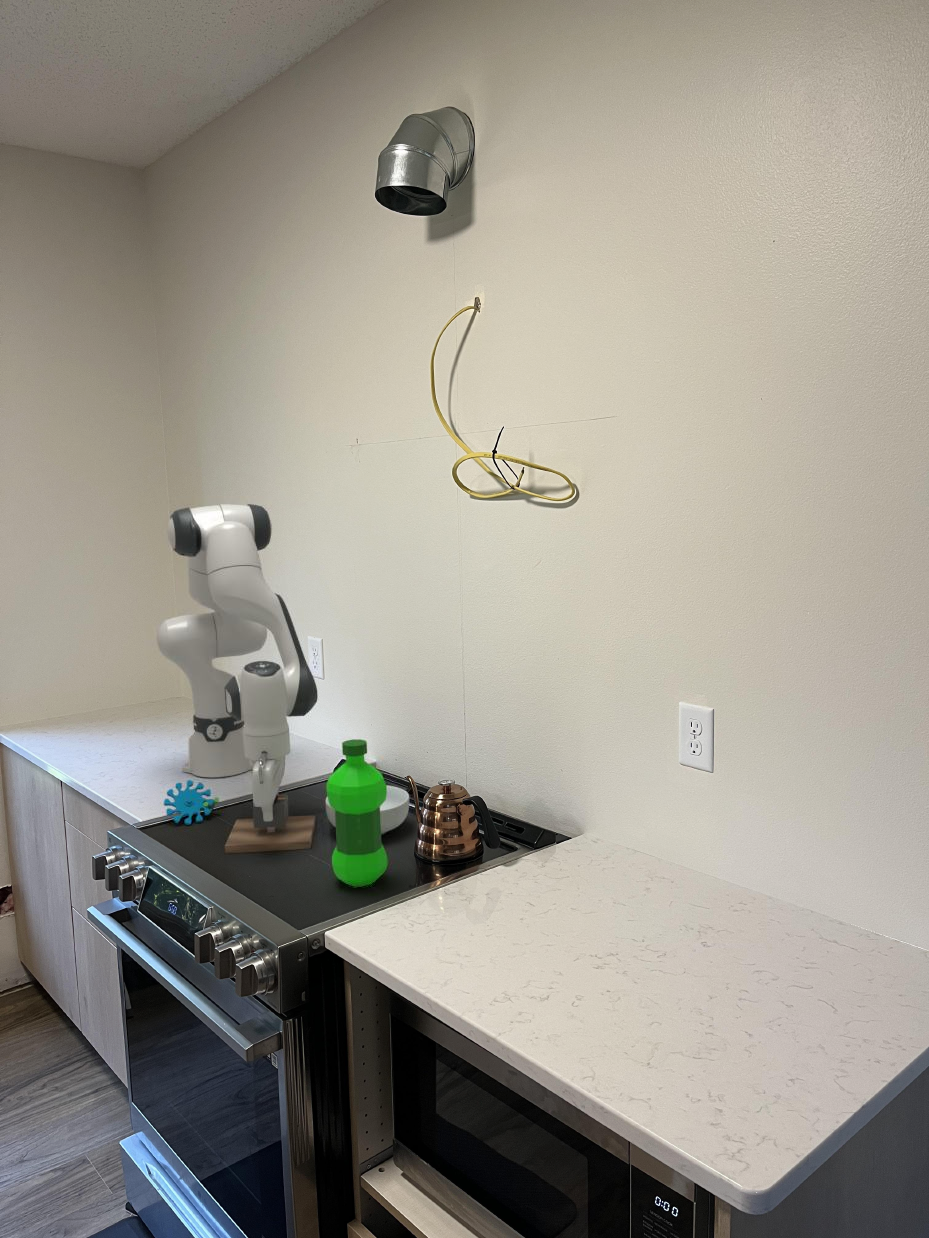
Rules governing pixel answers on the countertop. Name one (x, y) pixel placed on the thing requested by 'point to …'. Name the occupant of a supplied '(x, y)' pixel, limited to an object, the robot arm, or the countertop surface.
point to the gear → (190, 802)
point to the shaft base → (271, 836)
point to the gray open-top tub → (278, 811)
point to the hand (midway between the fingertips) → (271, 813)
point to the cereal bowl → (385, 809)
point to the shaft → (271, 829)
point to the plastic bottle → (357, 817)
